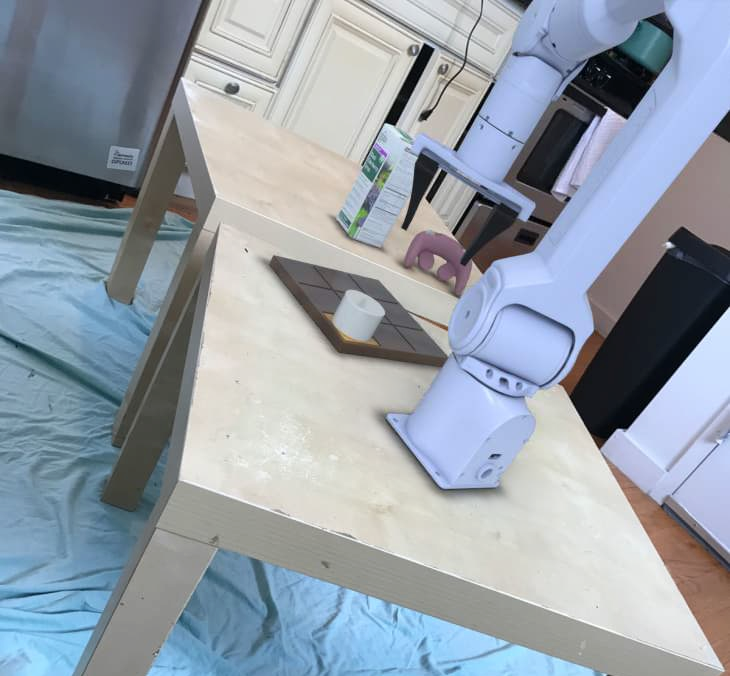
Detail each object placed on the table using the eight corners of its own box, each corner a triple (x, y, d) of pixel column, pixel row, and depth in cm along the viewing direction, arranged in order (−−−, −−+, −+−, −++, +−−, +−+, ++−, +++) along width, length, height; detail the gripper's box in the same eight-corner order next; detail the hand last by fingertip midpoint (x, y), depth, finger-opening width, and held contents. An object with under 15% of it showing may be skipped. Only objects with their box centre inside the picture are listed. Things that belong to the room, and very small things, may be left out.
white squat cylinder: (378, 344, 77) (393, 318, 75) (345, 339, 73) (360, 312, 72) (356, 319, 79) (370, 293, 77) (323, 313, 76) (337, 286, 74)
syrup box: (334, 218, 106) (383, 120, 99) (366, 230, 110) (416, 136, 102) (349, 238, 103) (400, 137, 95) (382, 250, 106) (434, 153, 99)
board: (445, 367, 85) (450, 358, 84) (338, 352, 74) (344, 341, 73) (374, 288, 93) (379, 279, 92) (268, 264, 82) (273, 254, 81)
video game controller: (454, 299, 111) (476, 256, 110) (462, 297, 106) (485, 252, 106) (396, 267, 109) (418, 223, 108) (402, 263, 104) (425, 217, 104)
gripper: (558, 161, 81) (489, 269, 88) (444, 88, 80) (383, 204, 87) (562, 170, 75) (487, 285, 82) (439, 92, 74) (374, 216, 81)
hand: (433, 245), depth 84 cm, fingers open, 7 cm apart
